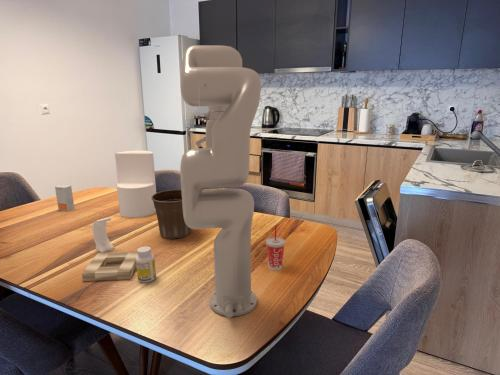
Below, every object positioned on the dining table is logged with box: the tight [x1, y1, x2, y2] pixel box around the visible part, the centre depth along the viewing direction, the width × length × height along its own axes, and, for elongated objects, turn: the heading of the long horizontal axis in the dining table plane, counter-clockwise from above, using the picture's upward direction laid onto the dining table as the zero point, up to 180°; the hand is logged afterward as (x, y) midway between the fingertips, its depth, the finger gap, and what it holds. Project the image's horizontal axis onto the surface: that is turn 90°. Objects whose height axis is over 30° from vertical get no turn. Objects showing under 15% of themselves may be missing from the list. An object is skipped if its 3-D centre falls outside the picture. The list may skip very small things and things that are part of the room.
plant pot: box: [151, 189, 192, 240], centre depth 139 cm, size 16×16×16 cm
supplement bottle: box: [136, 245, 157, 283], centre depth 106 cm, size 5×5×10 cm
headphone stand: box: [91, 217, 115, 253], centre depth 126 cm, size 5×6×12 cm
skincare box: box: [54, 184, 75, 212], centre depth 169 cm, size 6×4×12 cm
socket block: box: [81, 251, 138, 282], centre depth 113 cm, size 14×14×2 cm
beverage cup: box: [265, 225, 286, 271], centre depth 112 cm, size 6×6×14 cm
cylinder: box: [114, 150, 157, 219], centre depth 164 cm, size 17×17×28 cm
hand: (221, 164), depth 127 cm, fingers open, 9 cm apart
